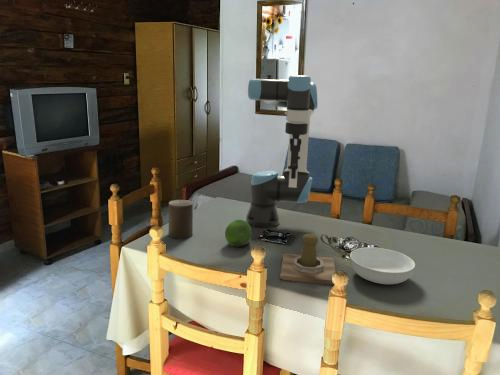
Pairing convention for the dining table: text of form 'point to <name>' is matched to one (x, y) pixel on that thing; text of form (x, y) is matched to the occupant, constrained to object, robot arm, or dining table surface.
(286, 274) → the socket board
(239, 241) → the fruit
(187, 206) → the pillar candle
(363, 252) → the serving bowl
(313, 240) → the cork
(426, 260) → the dining table surface
